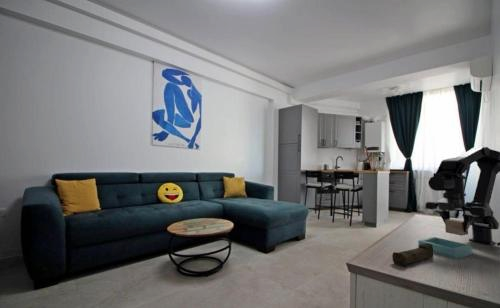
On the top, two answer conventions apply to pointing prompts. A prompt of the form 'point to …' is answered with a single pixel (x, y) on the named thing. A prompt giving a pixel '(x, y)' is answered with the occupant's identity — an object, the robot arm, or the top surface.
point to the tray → (448, 247)
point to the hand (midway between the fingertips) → (456, 230)
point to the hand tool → (413, 255)
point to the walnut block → (455, 227)
